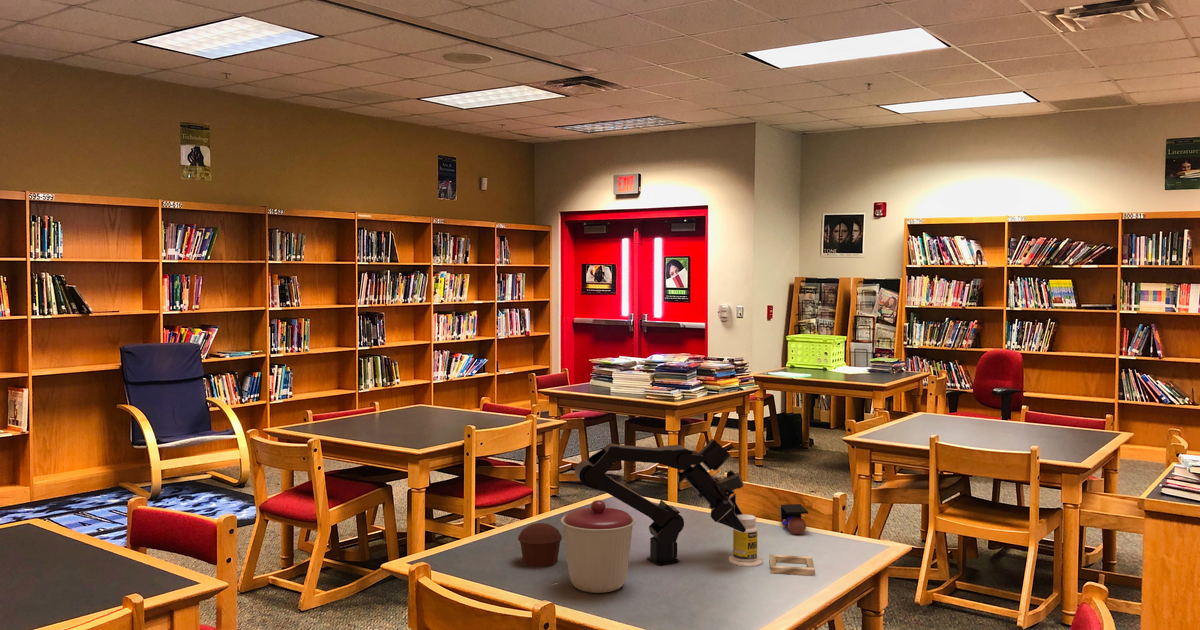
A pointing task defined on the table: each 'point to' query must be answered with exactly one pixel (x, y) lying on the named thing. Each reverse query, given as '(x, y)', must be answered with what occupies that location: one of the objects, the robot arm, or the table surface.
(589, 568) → the canister
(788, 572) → the pocket frame
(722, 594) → the table surface
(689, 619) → the table surface
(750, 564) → the coaster
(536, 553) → the muffin
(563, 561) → the table surface
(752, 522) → the supplement bottle
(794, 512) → the figurine character
